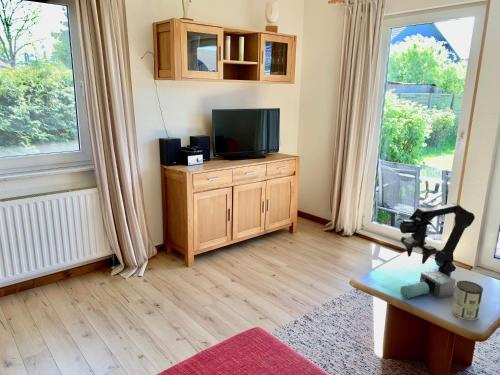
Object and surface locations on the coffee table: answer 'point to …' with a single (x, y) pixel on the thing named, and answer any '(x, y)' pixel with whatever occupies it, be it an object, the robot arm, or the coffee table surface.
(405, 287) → the pale green cylinder
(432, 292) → the housing
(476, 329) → the coffee table surface
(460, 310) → the coffee can
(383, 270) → the coffee table surface
